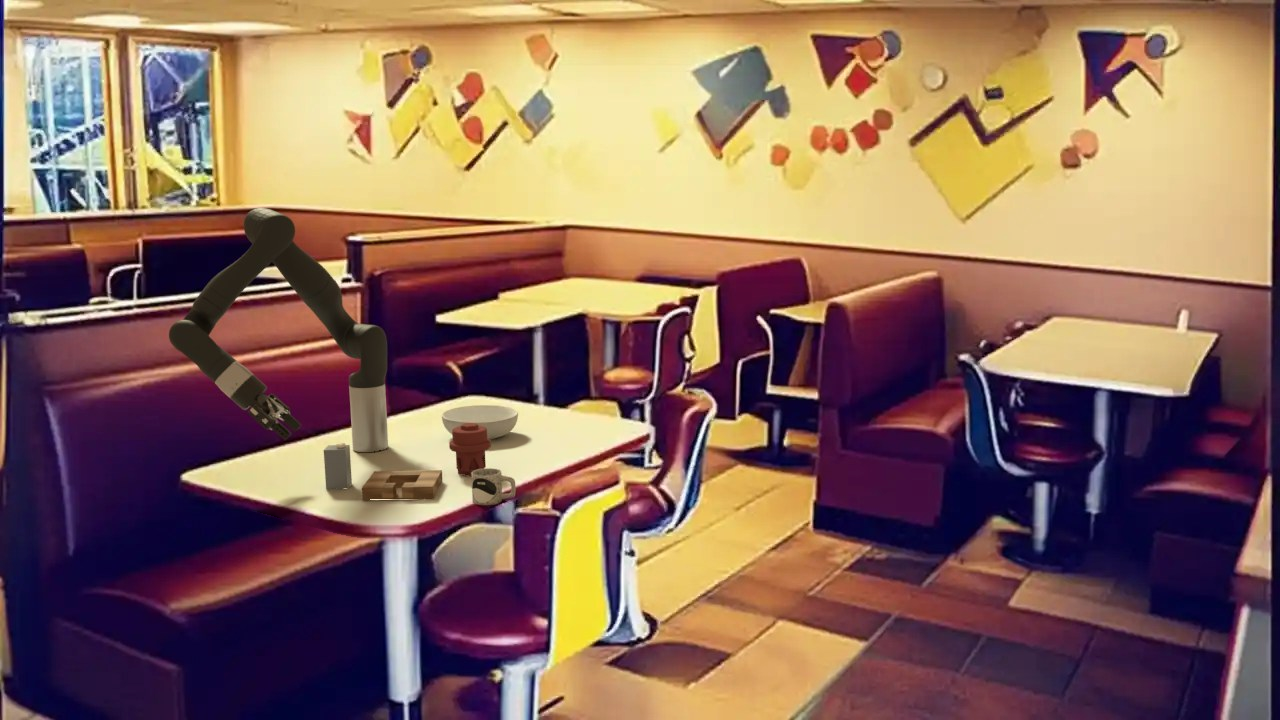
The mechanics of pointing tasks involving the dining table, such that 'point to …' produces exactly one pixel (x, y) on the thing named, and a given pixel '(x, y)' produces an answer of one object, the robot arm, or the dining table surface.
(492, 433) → the serving bowl
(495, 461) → the dining table surface
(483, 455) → the mechanical component
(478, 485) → the mug
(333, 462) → the block
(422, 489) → the plate
